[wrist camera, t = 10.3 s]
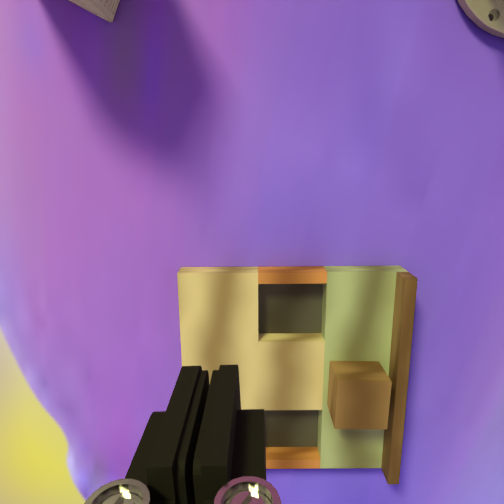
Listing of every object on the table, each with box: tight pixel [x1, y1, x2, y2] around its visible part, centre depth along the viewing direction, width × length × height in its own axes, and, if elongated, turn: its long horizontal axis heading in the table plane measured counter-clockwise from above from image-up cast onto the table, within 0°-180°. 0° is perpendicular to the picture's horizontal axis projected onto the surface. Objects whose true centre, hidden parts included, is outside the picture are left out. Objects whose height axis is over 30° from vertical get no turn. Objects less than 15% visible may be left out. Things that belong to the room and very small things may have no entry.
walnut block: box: [327, 361, 392, 429], centre depth 36 cm, size 4×4×4 cm
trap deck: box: [177, 266, 417, 484], centre depth 37 cm, size 20×20×4 cm
